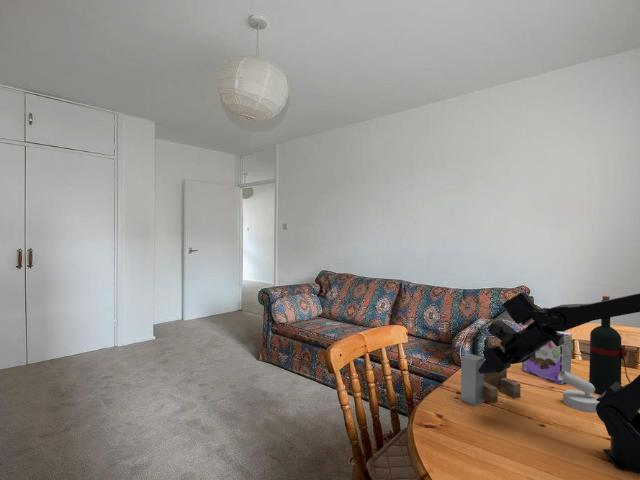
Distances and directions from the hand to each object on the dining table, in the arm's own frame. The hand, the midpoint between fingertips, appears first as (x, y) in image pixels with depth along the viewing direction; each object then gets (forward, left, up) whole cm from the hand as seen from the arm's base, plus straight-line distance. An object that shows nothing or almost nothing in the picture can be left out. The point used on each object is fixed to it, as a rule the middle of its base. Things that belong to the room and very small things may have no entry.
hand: (488, 368), depth 100 cm
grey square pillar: (+3, +4, -11) cm, 12 cm away
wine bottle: (+23, -37, -11) cm, 45 cm away
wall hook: (+11, -25, -11) cm, 30 cm away
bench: (+10, -3, -11) cm, 15 cm away
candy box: (+32, -22, -11) cm, 40 cm away
